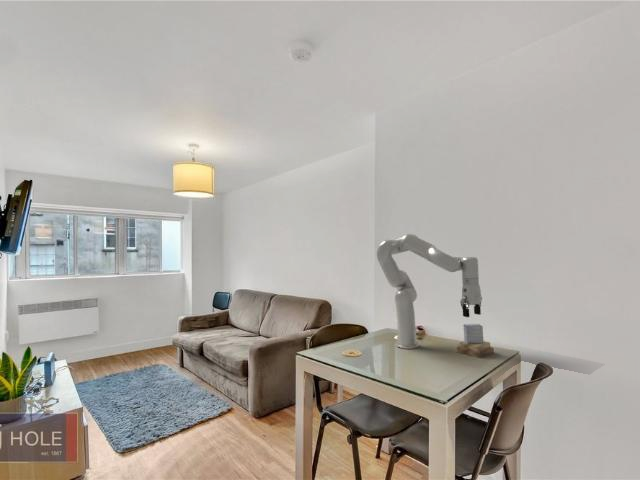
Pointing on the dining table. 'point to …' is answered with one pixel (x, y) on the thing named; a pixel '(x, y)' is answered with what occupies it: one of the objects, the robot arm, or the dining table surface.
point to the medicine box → (473, 333)
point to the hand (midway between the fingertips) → (471, 315)
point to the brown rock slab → (475, 349)
